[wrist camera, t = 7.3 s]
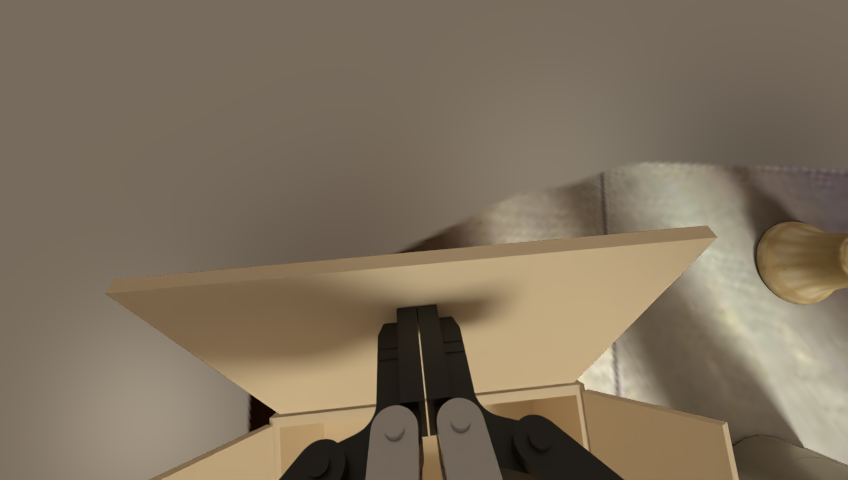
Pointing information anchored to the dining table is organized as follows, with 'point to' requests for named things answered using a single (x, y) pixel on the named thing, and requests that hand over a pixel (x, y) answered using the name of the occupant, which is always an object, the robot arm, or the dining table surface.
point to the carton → (561, 403)
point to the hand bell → (802, 262)
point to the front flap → (416, 286)
